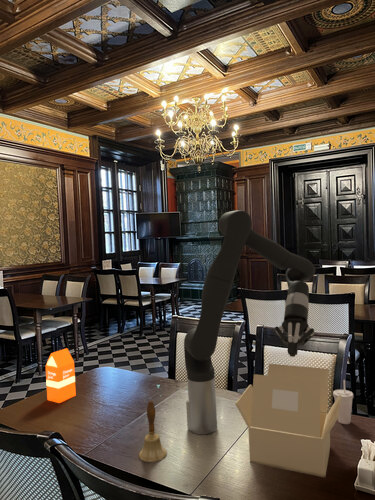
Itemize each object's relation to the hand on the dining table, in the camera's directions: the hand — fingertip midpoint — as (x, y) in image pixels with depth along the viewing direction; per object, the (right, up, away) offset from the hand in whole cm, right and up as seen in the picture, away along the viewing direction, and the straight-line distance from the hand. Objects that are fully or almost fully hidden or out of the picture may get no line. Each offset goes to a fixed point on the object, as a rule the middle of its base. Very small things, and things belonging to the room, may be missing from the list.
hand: (292, 355), depth 118 cm
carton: (0, -26, -3) cm, 26 cm away
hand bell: (-43, -29, -4) cm, 52 cm away
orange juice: (-86, -30, +43) cm, 100 cm away
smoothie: (+20, -25, +10) cm, 34 cm away
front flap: (-5, -10, -13) cm, 17 cm away
